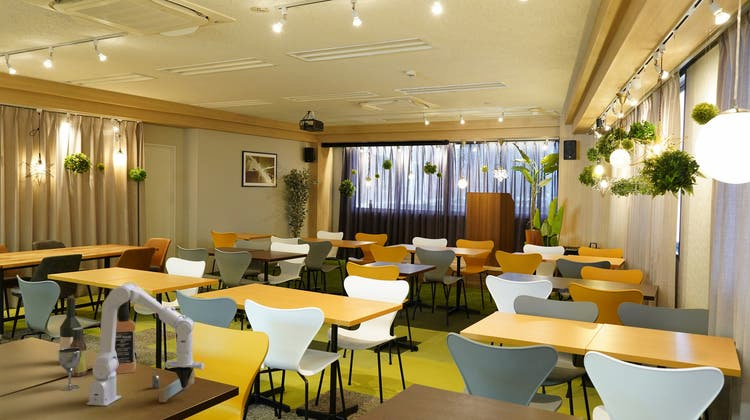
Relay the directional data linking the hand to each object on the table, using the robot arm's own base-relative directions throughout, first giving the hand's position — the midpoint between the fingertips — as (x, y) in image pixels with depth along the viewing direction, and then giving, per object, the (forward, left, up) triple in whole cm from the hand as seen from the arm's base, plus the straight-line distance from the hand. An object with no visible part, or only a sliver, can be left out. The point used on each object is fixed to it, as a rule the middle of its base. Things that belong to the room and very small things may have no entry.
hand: (184, 386), depth 212 cm
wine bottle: (+33, +72, -5) cm, 79 cm away
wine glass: (+3, +50, -5) cm, 50 cm away
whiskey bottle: (+28, +43, -5) cm, 51 cm away
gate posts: (+9, +11, -4) cm, 15 cm away
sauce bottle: (+18, +57, -5) cm, 60 cm away
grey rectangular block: (+1, +6, -4) cm, 7 cm away
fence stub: (+14, +6, -5) cm, 16 cm away
